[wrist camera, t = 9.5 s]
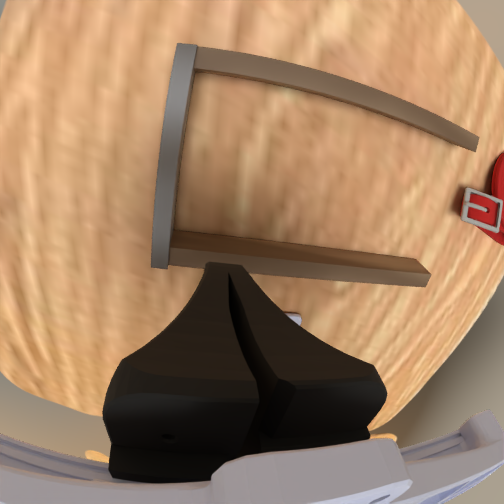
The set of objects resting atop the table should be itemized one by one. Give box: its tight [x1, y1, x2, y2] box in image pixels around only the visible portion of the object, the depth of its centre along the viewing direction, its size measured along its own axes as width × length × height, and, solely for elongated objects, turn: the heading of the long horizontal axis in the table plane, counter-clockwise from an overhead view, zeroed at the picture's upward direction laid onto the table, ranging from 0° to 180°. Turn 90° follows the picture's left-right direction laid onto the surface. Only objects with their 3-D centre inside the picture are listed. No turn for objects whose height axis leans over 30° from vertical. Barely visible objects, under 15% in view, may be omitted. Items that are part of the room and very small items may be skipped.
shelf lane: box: [151, 43, 479, 287], centre depth 19 cm, size 13×20×3 cm, turn 79°
